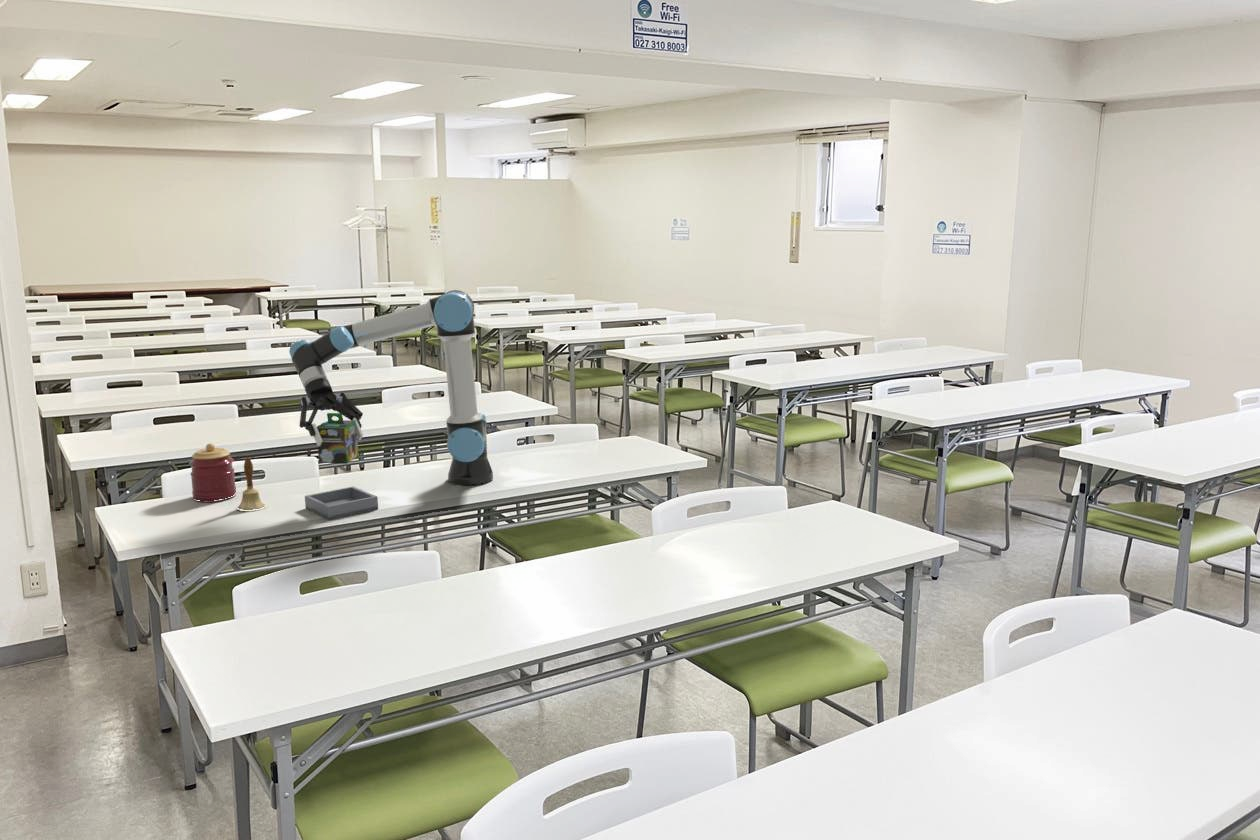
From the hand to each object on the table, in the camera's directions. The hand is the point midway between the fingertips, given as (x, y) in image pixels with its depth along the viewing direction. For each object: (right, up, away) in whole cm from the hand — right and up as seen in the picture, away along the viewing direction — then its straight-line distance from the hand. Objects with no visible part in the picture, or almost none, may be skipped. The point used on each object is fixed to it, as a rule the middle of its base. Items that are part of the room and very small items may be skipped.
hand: (340, 440), depth 292 cm
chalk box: (-2, -6, +3) cm, 7 cm away
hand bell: (-30, -21, +7) cm, 37 cm away
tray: (-1, -21, +6) cm, 22 cm away
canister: (-46, -19, +19) cm, 53 cm away
